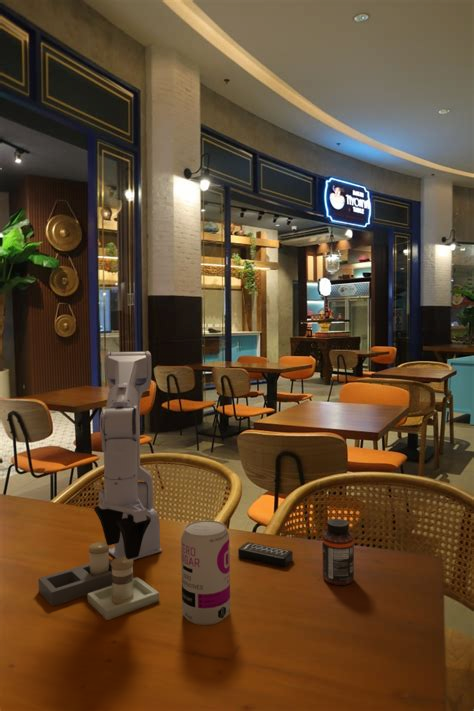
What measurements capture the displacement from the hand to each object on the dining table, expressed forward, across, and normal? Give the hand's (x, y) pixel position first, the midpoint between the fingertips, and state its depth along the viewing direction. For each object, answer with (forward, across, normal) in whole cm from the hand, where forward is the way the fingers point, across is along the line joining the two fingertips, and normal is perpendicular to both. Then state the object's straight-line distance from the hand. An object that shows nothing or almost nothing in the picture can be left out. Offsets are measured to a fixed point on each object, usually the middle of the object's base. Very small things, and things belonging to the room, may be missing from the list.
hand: (122, 550), depth 95 cm
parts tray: (+9, 0, 0) cm, 9 cm away
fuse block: (+9, -10, -4) cm, 14 cm away
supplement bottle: (+10, +19, +36) cm, 42 cm away
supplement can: (+10, +13, +9) cm, 18 cm away
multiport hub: (+10, +3, +31) cm, 33 cm away
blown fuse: (+9, 0, 0) cm, 9 cm away
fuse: (+9, -10, 0) cm, 14 cm away
